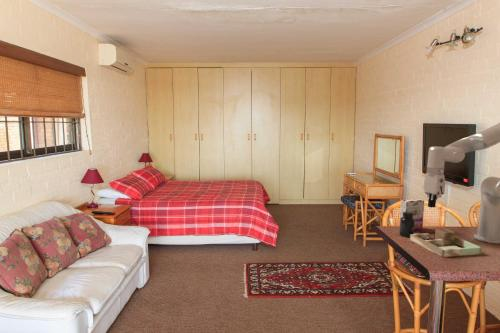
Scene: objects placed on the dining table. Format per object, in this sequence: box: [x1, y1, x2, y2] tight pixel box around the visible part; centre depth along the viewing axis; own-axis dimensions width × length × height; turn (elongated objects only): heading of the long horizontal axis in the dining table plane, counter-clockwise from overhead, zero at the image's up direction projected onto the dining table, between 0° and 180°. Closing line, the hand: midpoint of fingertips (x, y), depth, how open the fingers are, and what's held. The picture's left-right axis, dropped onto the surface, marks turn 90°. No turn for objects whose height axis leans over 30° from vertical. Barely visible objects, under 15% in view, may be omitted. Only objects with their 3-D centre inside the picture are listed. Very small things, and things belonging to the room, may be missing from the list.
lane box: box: [409, 232, 466, 258], centre depth 167 cm, size 20×22×3 cm
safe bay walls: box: [439, 240, 483, 257], centre depth 161 cm, size 19×9×3 cm, turn 102°
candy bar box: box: [399, 198, 425, 231], centre depth 193 cm, size 11×5×16 cm, turn 105°
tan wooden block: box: [434, 228, 456, 246], centre depth 172 cm, size 6×6×6 cm
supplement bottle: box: [398, 212, 415, 238], centre depth 182 cm, size 7×7×12 cm
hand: (431, 206), depth 181 cm, fingers closed
